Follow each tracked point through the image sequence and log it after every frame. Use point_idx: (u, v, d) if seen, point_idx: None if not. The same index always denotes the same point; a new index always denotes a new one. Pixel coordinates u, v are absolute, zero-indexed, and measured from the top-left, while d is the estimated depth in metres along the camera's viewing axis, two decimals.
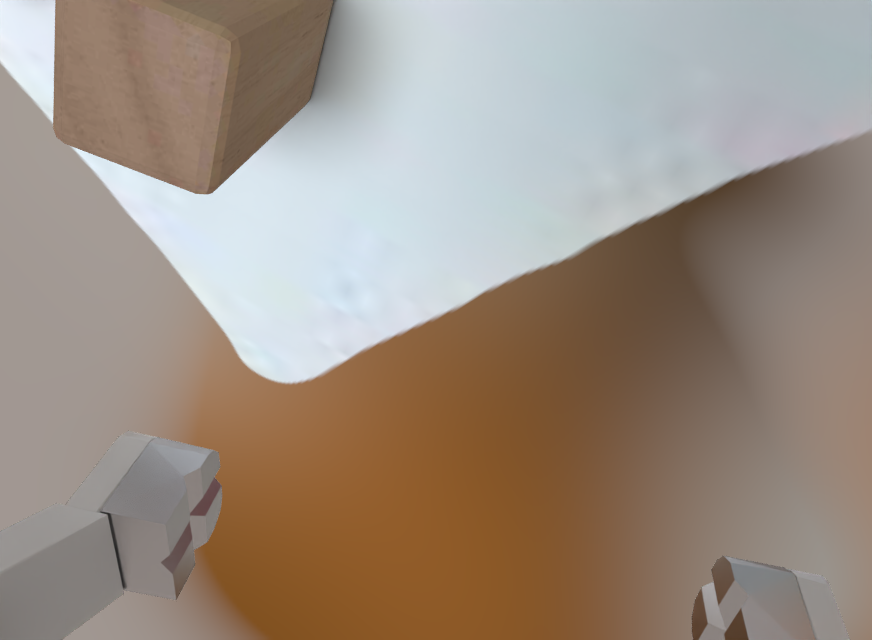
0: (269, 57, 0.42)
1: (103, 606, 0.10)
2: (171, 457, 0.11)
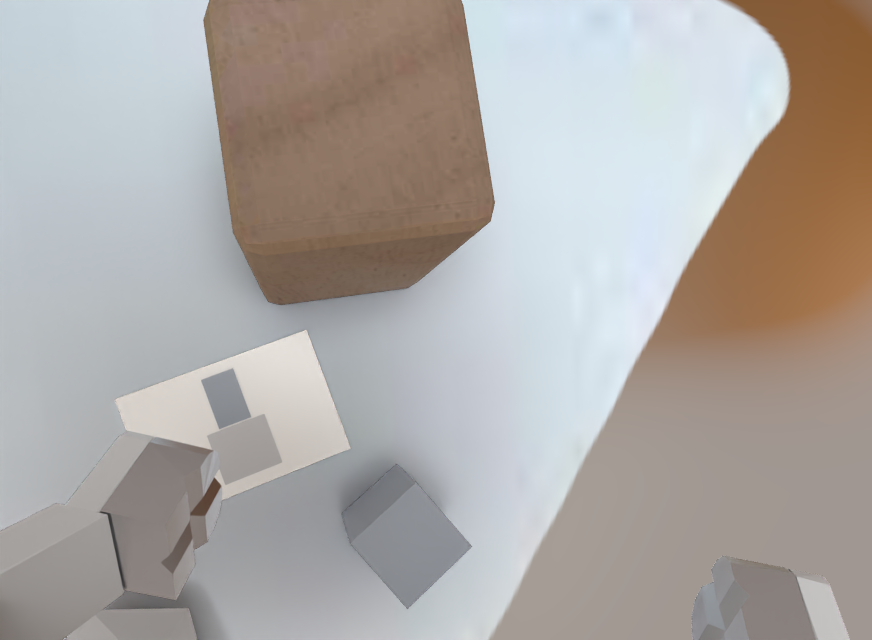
0: None
1: (103, 606, 0.10)
2: (171, 457, 0.11)
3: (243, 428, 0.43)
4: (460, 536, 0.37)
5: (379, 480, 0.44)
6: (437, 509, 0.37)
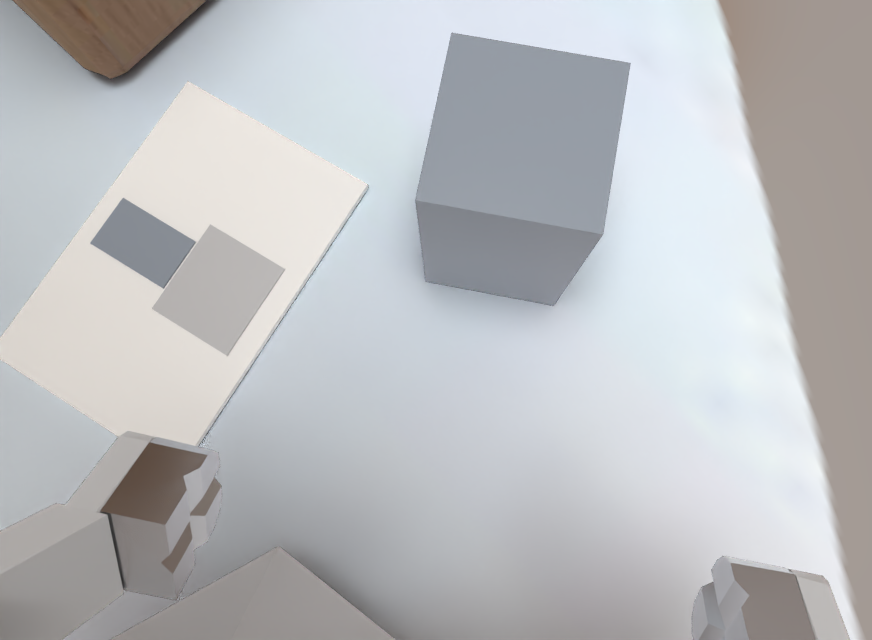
0: None
1: (103, 606, 0.10)
2: (171, 457, 0.11)
3: (197, 264, 0.25)
4: (597, 61, 0.18)
5: None
6: (522, 47, 0.18)
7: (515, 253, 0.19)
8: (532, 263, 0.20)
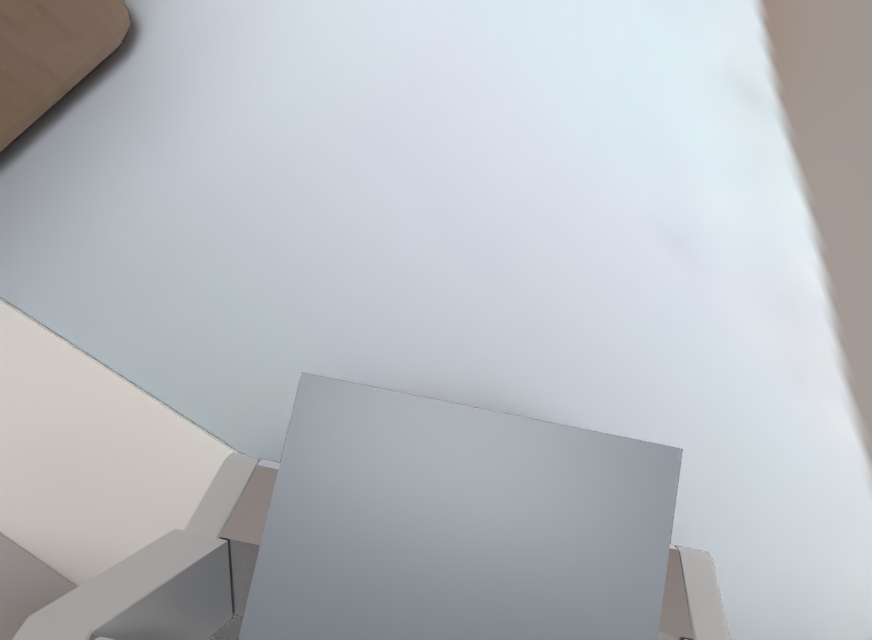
0: None
1: (214, 631, 0.10)
2: None
3: None
4: (610, 443, 0.08)
5: None
6: (449, 409, 0.08)
7: None
8: None
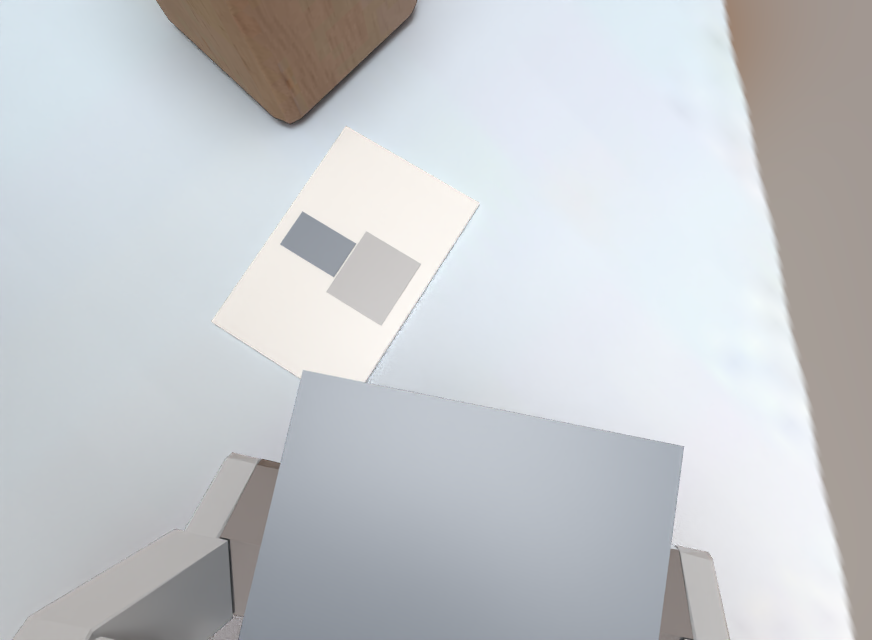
0: None
1: (215, 631, 0.10)
2: None
3: (357, 260, 0.34)
4: (611, 441, 0.08)
5: None
6: (450, 407, 0.08)
7: None
8: None
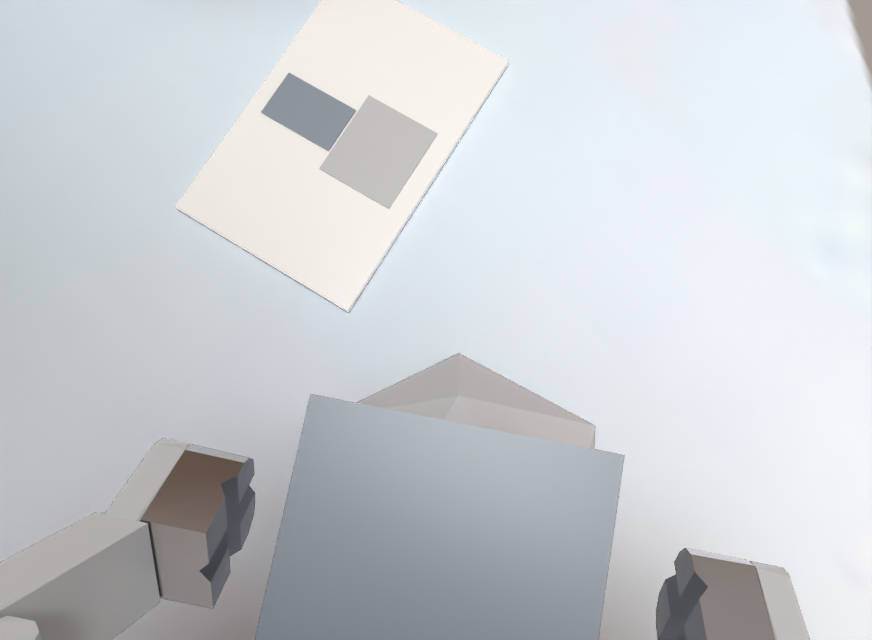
0: None
1: (140, 614, 0.10)
2: (208, 465, 0.11)
3: (357, 130, 0.28)
4: (565, 451, 0.10)
5: None
6: (432, 424, 0.10)
7: None
8: None
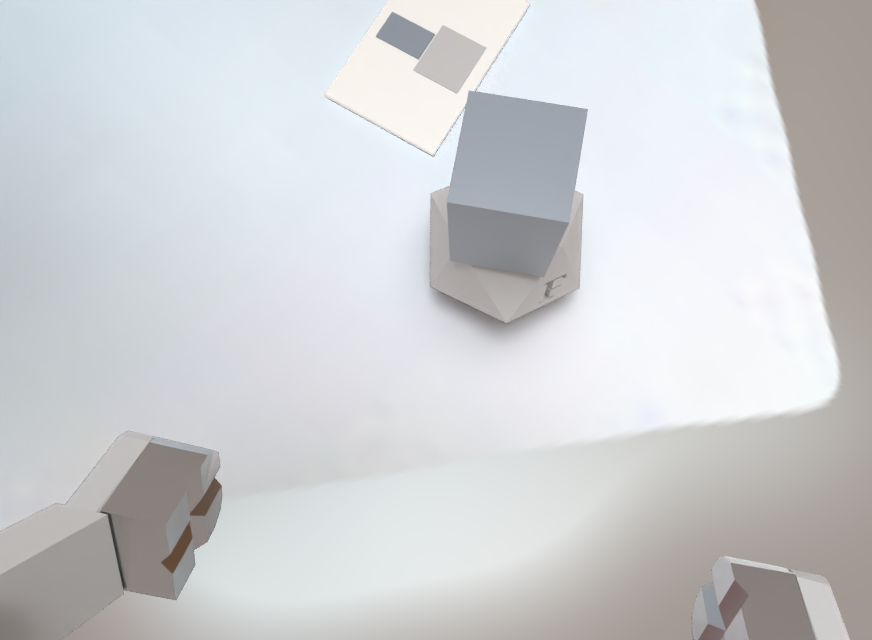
0: None
1: (103, 606, 0.10)
2: (171, 457, 0.11)
3: (436, 46, 0.44)
4: (565, 108, 0.27)
5: None
6: (515, 99, 0.27)
7: (513, 236, 0.29)
8: (525, 244, 0.29)
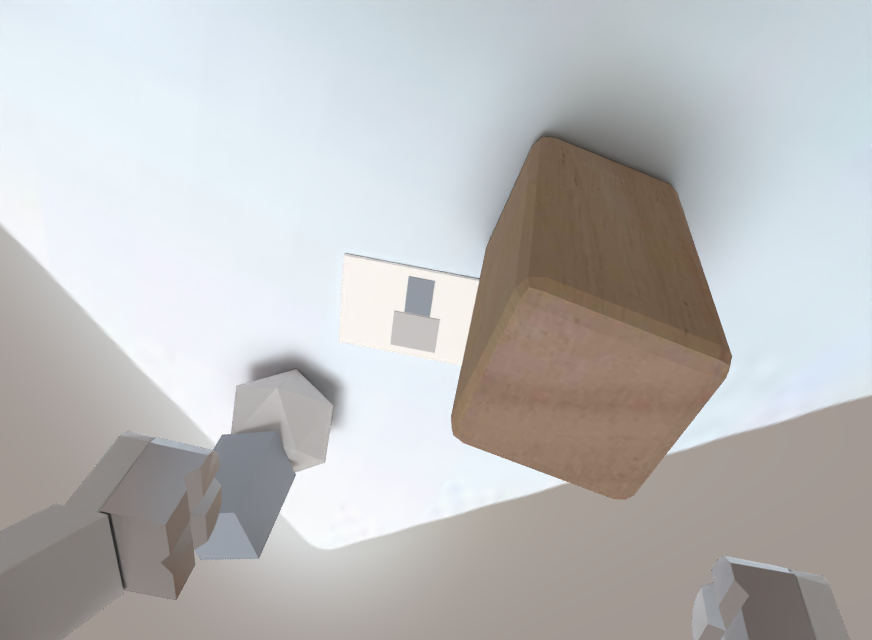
0: (577, 236, 0.33)
1: (103, 606, 0.10)
2: (171, 457, 0.11)
3: (420, 320, 0.54)
4: (253, 550, 0.48)
5: (256, 434, 0.53)
6: (243, 532, 0.47)
7: None
8: None
